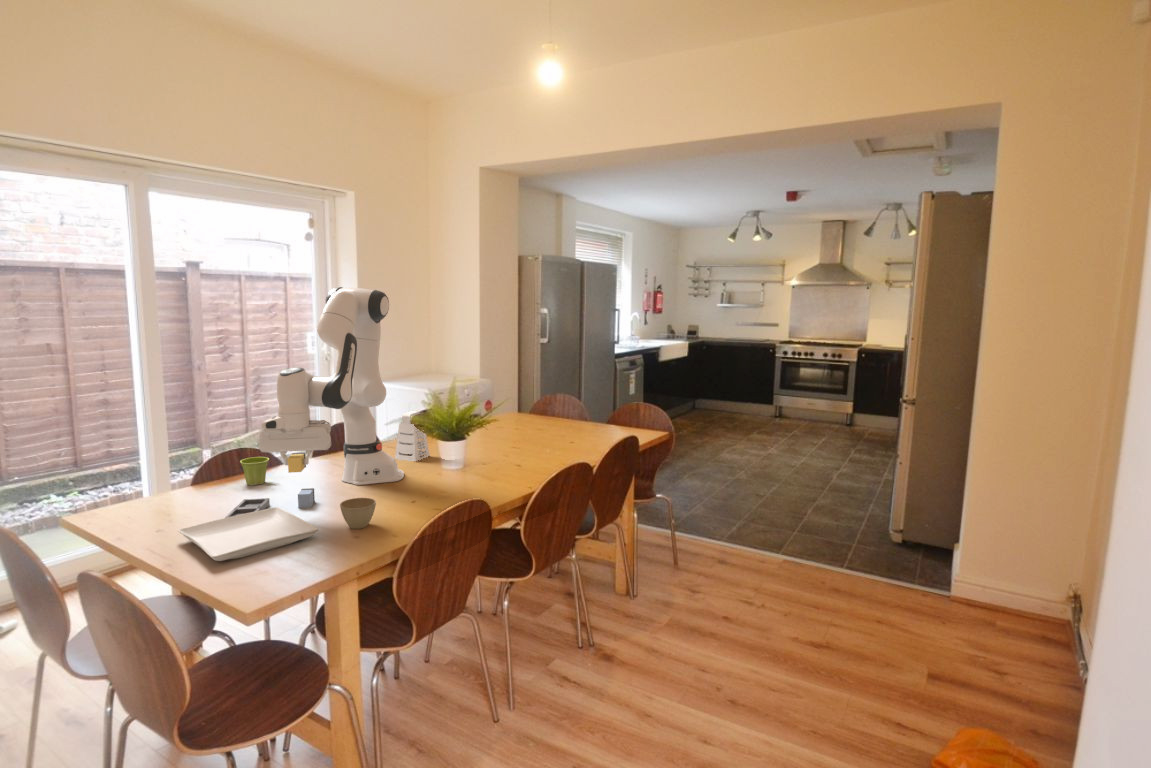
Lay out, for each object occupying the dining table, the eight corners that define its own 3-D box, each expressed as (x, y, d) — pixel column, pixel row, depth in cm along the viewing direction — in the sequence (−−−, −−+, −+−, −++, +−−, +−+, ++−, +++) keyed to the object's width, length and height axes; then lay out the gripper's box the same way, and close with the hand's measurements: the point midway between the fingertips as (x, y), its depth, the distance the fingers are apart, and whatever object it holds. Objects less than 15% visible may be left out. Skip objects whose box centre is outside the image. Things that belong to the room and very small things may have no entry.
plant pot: (275, 479, 224) (274, 457, 223) (260, 487, 215) (258, 463, 214) (252, 478, 225) (250, 456, 224) (235, 486, 216) (234, 462, 215)
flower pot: (343, 534, 172) (342, 510, 171) (339, 523, 181) (338, 500, 180) (379, 528, 177) (378, 505, 176) (373, 518, 185) (372, 495, 184)
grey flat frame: (269, 504, 196) (269, 498, 196) (252, 524, 179) (251, 516, 179) (244, 506, 195) (243, 499, 195) (224, 525, 177) (223, 518, 177)
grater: (429, 456, 263) (429, 411, 260) (415, 462, 253) (414, 415, 250) (409, 454, 266) (408, 409, 264) (394, 459, 257) (393, 413, 254)
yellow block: (305, 466, 190) (305, 452, 189) (301, 472, 184) (300, 457, 183) (293, 467, 189) (292, 453, 189) (288, 472, 183) (287, 457, 183)
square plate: (213, 570, 148) (212, 555, 147) (177, 541, 165) (176, 528, 165) (320, 540, 168) (319, 526, 168) (278, 517, 186) (277, 504, 185)
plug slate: (314, 501, 200) (314, 488, 200) (310, 507, 194) (310, 493, 194) (302, 502, 200) (301, 488, 199) (298, 508, 194) (297, 494, 193)
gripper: (332, 417, 190) (334, 460, 192) (262, 420, 186) (264, 463, 187) (328, 421, 184) (330, 465, 186) (255, 423, 179) (258, 468, 181)
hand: (296, 464), depth 186 cm, fingers closed on yellow block, 4 cm apart
